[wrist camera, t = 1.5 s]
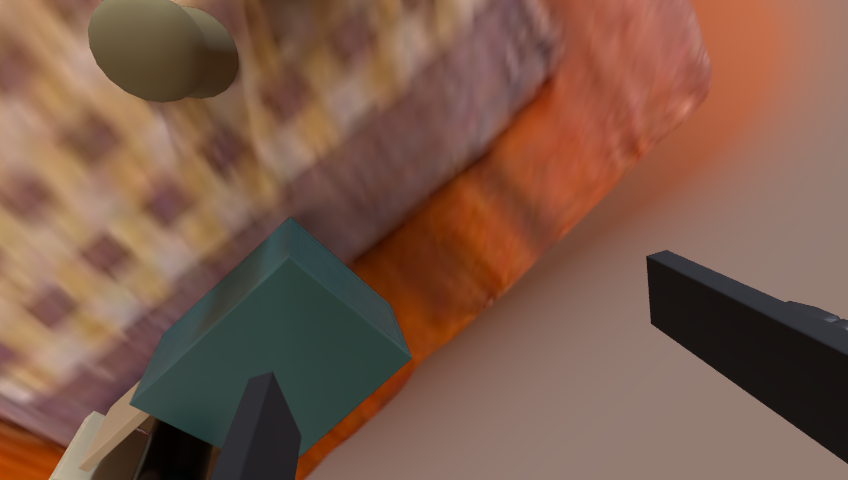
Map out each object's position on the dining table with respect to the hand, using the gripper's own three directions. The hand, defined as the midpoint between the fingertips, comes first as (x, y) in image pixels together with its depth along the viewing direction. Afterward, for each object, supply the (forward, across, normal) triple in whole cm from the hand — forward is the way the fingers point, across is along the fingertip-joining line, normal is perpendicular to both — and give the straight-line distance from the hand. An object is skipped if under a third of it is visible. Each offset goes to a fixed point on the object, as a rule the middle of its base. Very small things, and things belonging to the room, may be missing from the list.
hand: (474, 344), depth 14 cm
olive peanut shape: (+23, -12, +15) cm, 30 cm away
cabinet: (+25, -14, -8) cm, 30 cm away
